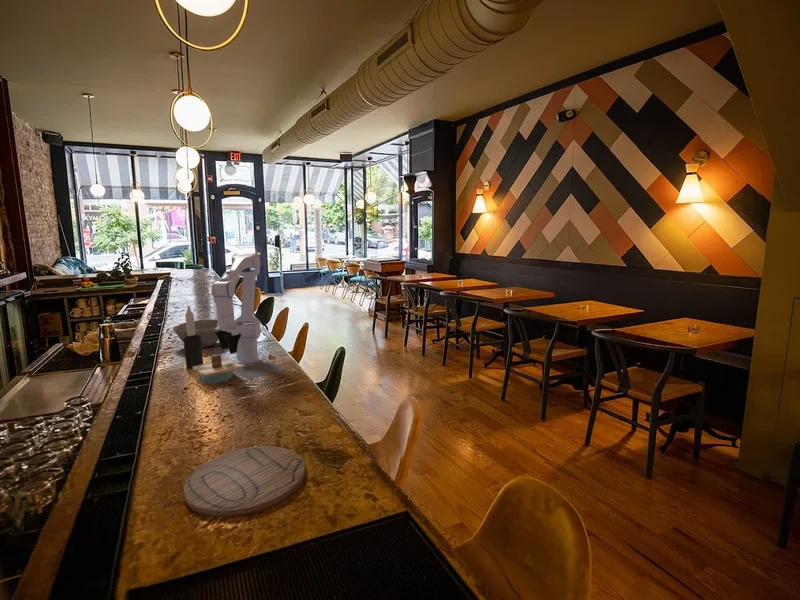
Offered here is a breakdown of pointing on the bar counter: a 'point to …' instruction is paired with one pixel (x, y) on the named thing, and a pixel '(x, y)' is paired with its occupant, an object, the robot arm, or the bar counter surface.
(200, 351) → the candle
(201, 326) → the ceramic bowl
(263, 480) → the trivet
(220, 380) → the dish
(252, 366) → the tray
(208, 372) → the lid
